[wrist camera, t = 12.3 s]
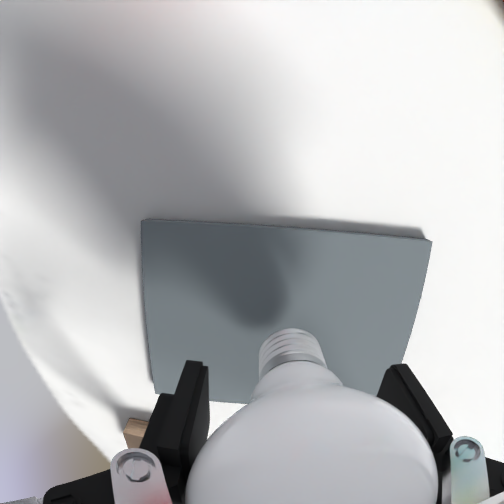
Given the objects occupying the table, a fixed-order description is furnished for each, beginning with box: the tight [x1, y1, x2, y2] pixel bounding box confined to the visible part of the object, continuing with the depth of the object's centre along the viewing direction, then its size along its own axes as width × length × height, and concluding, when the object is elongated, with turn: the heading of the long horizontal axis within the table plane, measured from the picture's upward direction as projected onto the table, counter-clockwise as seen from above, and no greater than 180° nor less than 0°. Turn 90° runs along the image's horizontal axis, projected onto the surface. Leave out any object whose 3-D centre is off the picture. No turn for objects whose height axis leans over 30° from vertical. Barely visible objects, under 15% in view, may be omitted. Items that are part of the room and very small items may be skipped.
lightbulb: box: [184, 328, 438, 504], centre depth 8 cm, size 6×6×11 cm
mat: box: [141, 219, 432, 404], centre depth 15 cm, size 10×14×1 cm
